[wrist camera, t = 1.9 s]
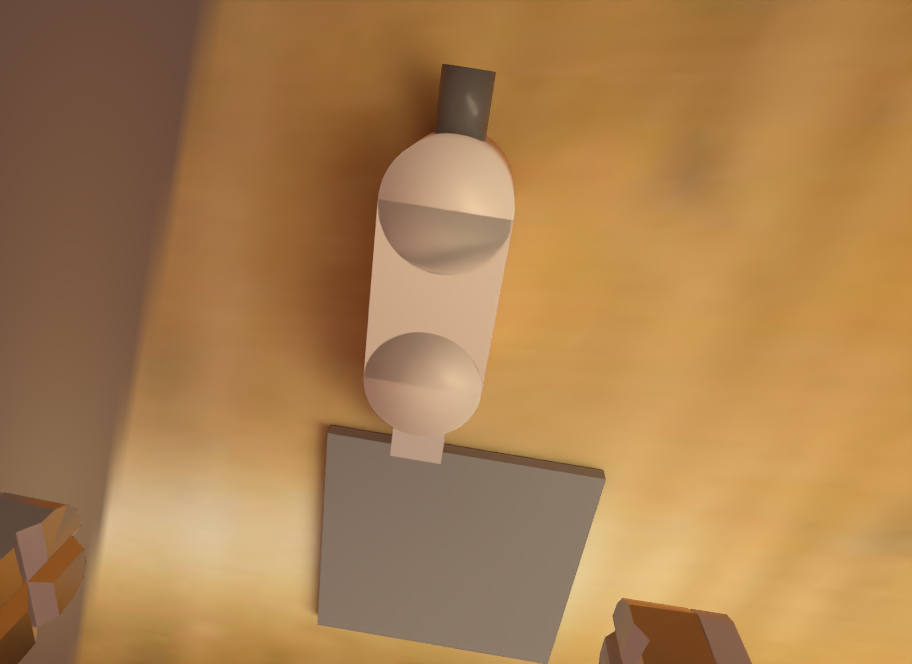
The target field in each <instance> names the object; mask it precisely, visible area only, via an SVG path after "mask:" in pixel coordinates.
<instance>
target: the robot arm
mask: <svg viewBox="0 0 912 664" xmlns="http://www.w3.org/2000/svg"><path fill="white" fill-rule="evenodd" d="M80 526H81V525H80V520H79V516H78V511H77V508H74V507H71V506H69V505H65V504H60V503H55V502H50V501H44V500H40V499H35V498H29V497H25V496H20V495H15V494H9V493H1V492H0V664H18V663H19V662H20V661H21V659H22V658H23V657H24V656H25V655H26V654H27V652H28V651H29V650H30V649H31V648H32V646H34V644H35V642H36V632H37V627H38V626H40V625H42V624H44V623H46V622H48V621H50V620H51V619H53V618H55V617H57V616H59V615H60V614H61V613H62V611H63V610H64V609H65V608H66V606H67V605H68V604H69V603H70V602H71V600H72V599H73V598H74V596H75V594H76V592H77V590H78V588H79V586H80V584H81V582H82V580H83V578H84V572H85V566H86V557H85V549H84V548H83V547H82V546H81V544H79V542H78V541H77V540H76V539H75V538H74V537H73V534H74V533H75V532H76V531H77V530H78V528H79V527H80ZM613 621H614V626H615V631H614V632H613V633H611V634H610V635H608V636H607V637H605V639H604V642H603V645H602V649H601V652H600V658H599V664H752V663H751V660H750V658H749V656H748V654H747V651H746V649H745V647H744V645H743V642H742V640H741V638H740V636H739V633H738V631H737V629H736V627H735V624H734V622H733V621H732V620H731V619H730V618H729V617H728V616H727V615H726V614H720V613H714V612H707V611H701V610H695V609H690V610H689V609H688V608H683V607H677V606H670V605H664V604H658V603H651V602H645V601H639V600H632V599H626V598H622V599H621V600H620V601H619V602H618V603H617V605H616V608H615V611H614V614H613Z"/></svg>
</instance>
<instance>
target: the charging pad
mask: <svg viewBox="0 0 912 664" xmlns="http://www.w3.org/2000/svg"><path fill="white" fill-rule="evenodd" d="M391 443H392V435H387V434H381V433H375V432H369V431H363V430H357V429H351V428H345V427H339V426H333V425H331V427H330V429H329V431H328V433H327V452H326V471H325V490H324V509H323V529H322V548H321V567H320V586H319V605H318V624H317V625H323V626H328V627H334V628H340V629H346V630H352V631H357V632H363V633H369V634H375V635H381V636H386V637H392V638H398V639H404V640H410V641H415V642H421V643H427V644H433V645H439V646H444V647H450V648H456V649H462V650H468V651H473V652H479V653H485V654H491V655H497V656H502V657H508V658H514V659H520V660H526V661H531V662H537V663H543V664H548V661H549V658H550V654H551V651H552V648H553V645H554V642H555V639H556V635H557V632H558V629H559V626H560V623H561V620H562V616H563V613H564V610H565V607H566V604H567V601H568V597H569V594H570V591H571V588H572V585H573V582H574V578H575V575H576V572H577V569H578V566H579V562H580V559H581V556H582V553H583V550H584V547H585V543H586V540H587V537H588V534H589V531H590V528H591V524H592V521H593V518H594V515H595V512H596V509H597V505H598V502H599V499H600V496H601V493H602V489H603V486H604V483H605V480H606V479H605V475H604V471H603V470H598V469H592V468H586V467H580V466H574V465H568V464H562V463H556V462H550V461H544V460H538V459H532V458H526V457H520V456H513V455H507V454H501V453H495V452H489V451H483V450H477V449H471V448H465V447H459V446H453V445H447V444H444V447H443V453H442V459H441V464H437V463H431V462H425V461H419V460H413V459H407V458H401V457H395V456H390V452H391Z"/></svg>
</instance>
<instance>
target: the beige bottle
mask: <svg viewBox="0 0 912 664" xmlns="http://www.w3.org/2000/svg"><path fill="white" fill-rule="evenodd" d="M495 74H496V72H492V71H486V70H480V69H474V68H467V67H461V66H454V65H447V64H442V70H441V78H440V87H439V95H438V104H437V113H436V121H435V130H434V131H433V132H432V133H430V134H428V135H426V136H425V137H423V138H422V139H420V140H419V141H417V142H416V143H415V144H413V145H412V146H410V147H409V148H407V149H406V150H404V151H403V152H402V153H401V154H400V155H399V156H398V157H396V158H395V160H394V161H393V162H392V163H391V165H390V166H389V168H388V169H387V171H386V173H385V175H384V177H383V179H382V182H381V185H380V189H379V195H378V204H377V216H376V228H375V241H374V253H373V266H372V278H371V290H370V303H369V315H368V328H367V340H366V353H365V365H364V381H363V384H364V391H365V394H366V397H367V400H368V402H369V404H370V406H371V407H372V409H373V410H374V412H375V413H376V414H377V415H378V416H379V417H380V418H381V419H382V420H383V421H384V422H386V423H387V424H388V425H390V426H391V427H393V434H392V443H391V452H390V456H395V457H401V458H407V459H413V460H419V461H425V462H431V463H437V464H441V459H442V453H443V447H444V440H445V434H446V433H449V432H452V431H454V430H456V429H458V428H459V427H461V426H462V425H464V424H465V423H466V422H467V421H468V420H469V419H470V418H471V417H472V415H473V414H474V413H475V411H476V409H477V407H478V405H479V402H480V399H481V394H482V389H483V383H484V378H485V372H486V367H487V362H488V356H489V351H490V345H491V340H492V334H493V329H494V324H495V318H496V313H497V307H498V302H499V296H500V291H501V286H502V280H503V275H504V269H505V264H506V258H507V253H508V247H509V242H510V237H511V231H512V226H513V220H514V212H515V208H514V188H513V176H512V171H511V167H510V164H509V162H508V159H507V157H506V156H505V154H504V152H503V151H502V149H501V148H500V147H499V146H498V145H497V144H496V143H495V142H494V141H493V140H492V139H491V138H489V137H488V136H487V135H486V133H487V126H488V120H489V113H490V107H491V100H492V94H493V87H494V81H495Z"/></svg>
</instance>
